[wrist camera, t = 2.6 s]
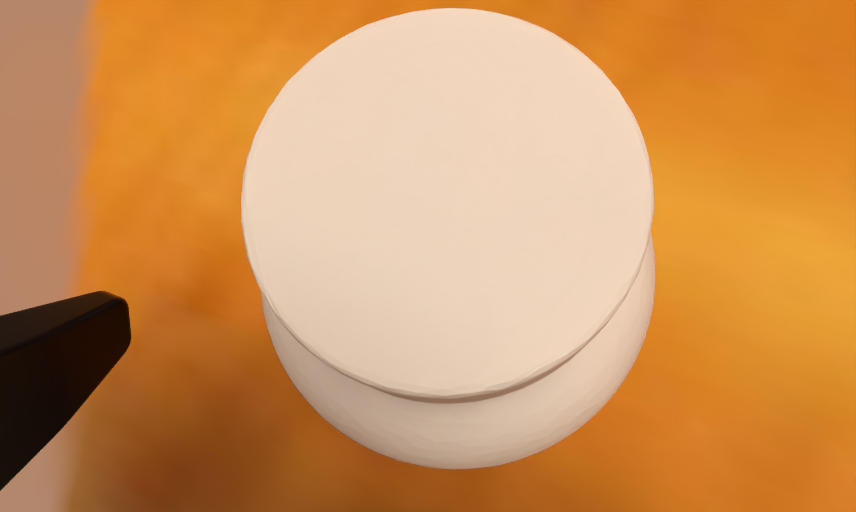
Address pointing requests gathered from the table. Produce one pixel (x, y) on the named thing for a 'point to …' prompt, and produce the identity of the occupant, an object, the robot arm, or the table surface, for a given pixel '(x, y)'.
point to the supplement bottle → (452, 236)
